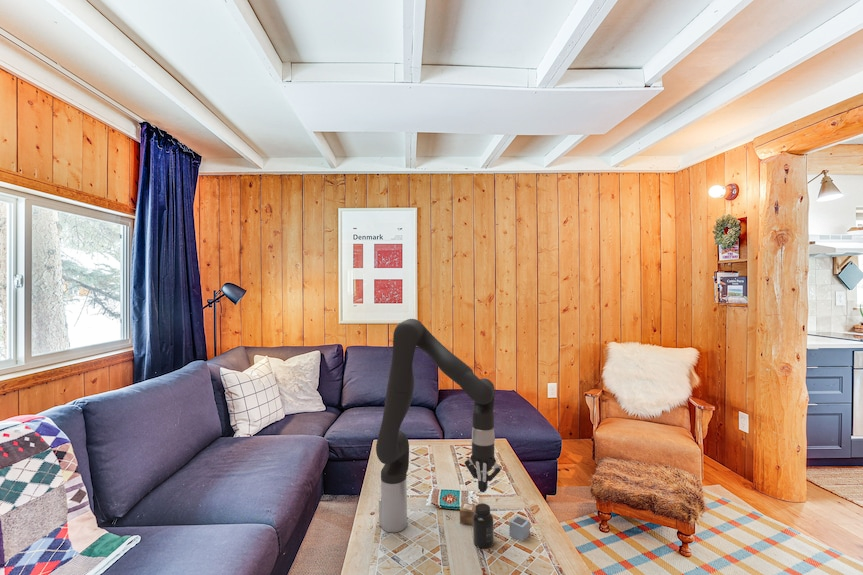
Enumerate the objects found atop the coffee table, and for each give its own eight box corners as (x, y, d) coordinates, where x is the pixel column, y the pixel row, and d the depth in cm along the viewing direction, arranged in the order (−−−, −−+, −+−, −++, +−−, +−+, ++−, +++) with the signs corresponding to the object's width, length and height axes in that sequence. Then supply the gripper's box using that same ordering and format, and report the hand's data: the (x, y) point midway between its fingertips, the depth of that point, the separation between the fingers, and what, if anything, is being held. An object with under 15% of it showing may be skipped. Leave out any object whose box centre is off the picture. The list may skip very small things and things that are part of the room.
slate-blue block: (509, 535, 137) (509, 520, 137) (516, 528, 141) (516, 514, 141) (522, 542, 134) (522, 526, 134) (529, 534, 137) (529, 519, 137)
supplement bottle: (491, 535, 137) (491, 501, 137) (495, 548, 130) (495, 512, 130) (471, 536, 137) (471, 501, 137) (474, 549, 130) (474, 513, 130)
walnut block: (460, 523, 144) (459, 509, 144) (462, 515, 149) (462, 501, 149) (473, 525, 143) (473, 511, 143) (476, 517, 148) (476, 503, 147)
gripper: (460, 440, 132) (460, 491, 133) (499, 448, 127) (498, 501, 127) (468, 432, 139) (468, 481, 140) (505, 439, 133) (505, 490, 134)
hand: (482, 490), depth 133 cm, fingers closed
